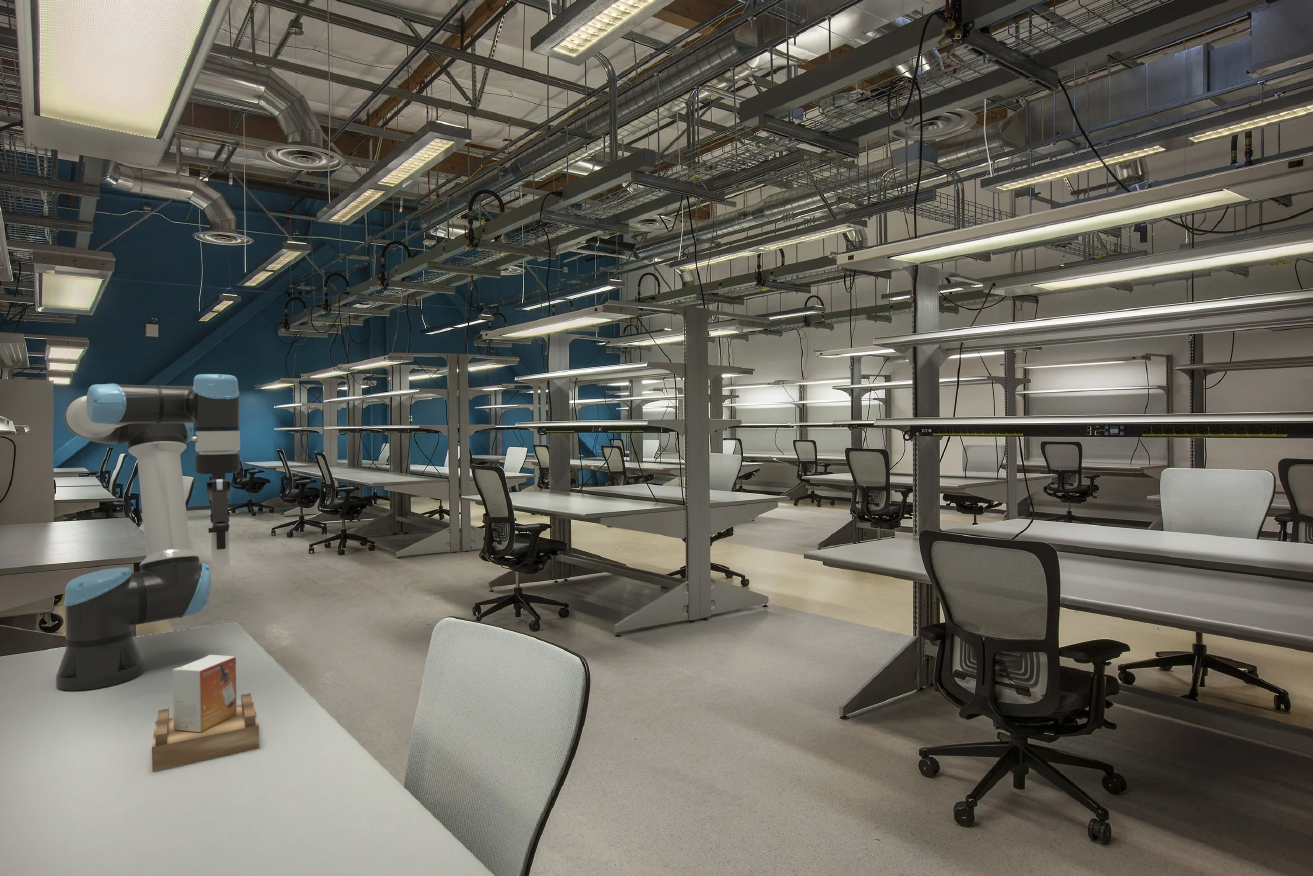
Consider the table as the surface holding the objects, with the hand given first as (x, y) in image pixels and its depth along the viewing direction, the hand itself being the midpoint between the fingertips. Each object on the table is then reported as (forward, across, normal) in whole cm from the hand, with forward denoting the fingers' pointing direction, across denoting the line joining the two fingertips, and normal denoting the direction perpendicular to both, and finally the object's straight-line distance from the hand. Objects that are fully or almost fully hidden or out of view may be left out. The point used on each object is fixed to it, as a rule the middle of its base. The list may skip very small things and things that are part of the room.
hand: (220, 560), depth 142 cm
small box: (+25, +20, -3) cm, 32 cm away
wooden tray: (+29, +20, -3) cm, 35 cm away
